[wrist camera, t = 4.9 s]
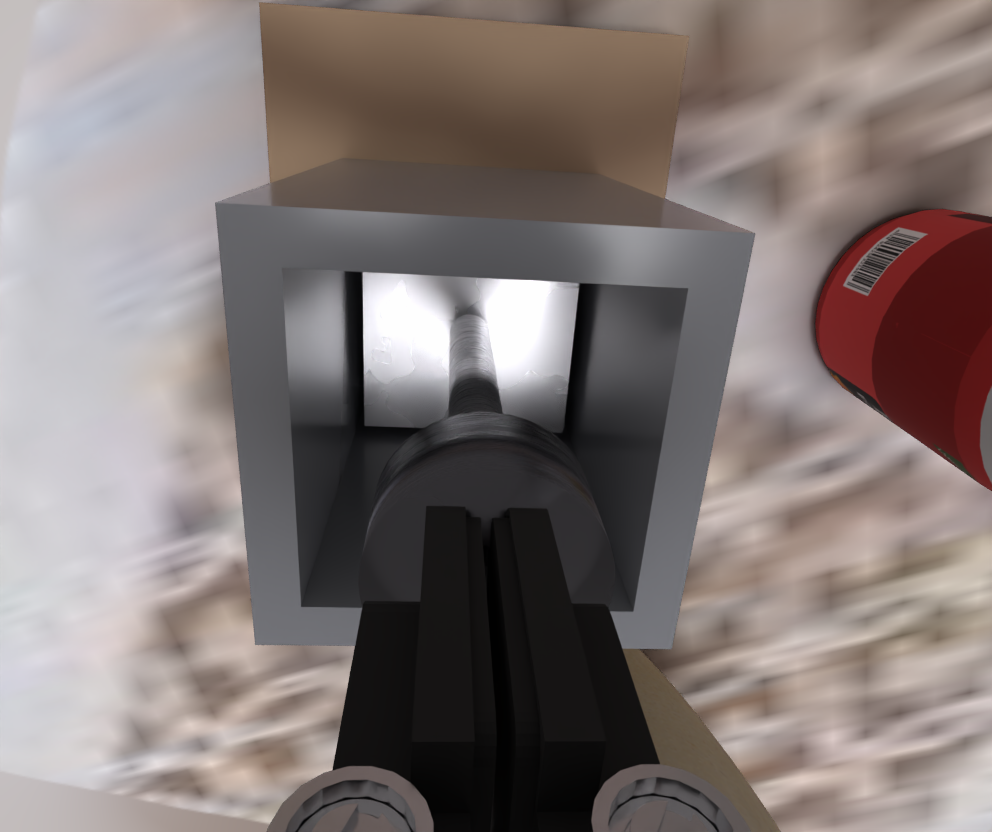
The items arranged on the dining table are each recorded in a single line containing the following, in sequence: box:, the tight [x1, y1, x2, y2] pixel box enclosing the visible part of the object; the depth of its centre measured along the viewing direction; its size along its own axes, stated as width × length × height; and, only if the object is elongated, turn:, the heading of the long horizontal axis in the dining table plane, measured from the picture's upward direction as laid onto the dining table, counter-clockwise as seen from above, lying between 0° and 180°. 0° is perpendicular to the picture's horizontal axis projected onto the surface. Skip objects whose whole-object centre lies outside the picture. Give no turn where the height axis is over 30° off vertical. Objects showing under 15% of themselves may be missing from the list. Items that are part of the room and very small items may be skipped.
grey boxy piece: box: [215, 158, 755, 649], centre depth 20 cm, size 12×9×14 cm
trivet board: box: [259, 2, 689, 199], centre depth 27 cm, size 18×14×2 cm
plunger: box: [358, 272, 615, 608], centre depth 16 cm, size 6×6×13 cm
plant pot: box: [623, 649, 781, 832], centre depth 28 cm, size 15×15×16 cm
